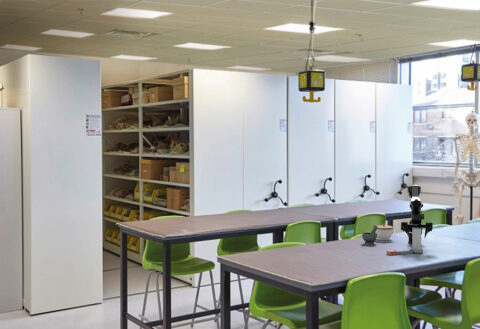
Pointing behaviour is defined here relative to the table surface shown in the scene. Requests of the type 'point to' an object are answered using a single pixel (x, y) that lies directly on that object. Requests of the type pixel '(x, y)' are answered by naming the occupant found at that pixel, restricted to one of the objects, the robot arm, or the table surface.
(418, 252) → the ratchet
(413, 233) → the socket
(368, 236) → the mortar and pestle
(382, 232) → the lidded bowl
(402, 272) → the table surface
